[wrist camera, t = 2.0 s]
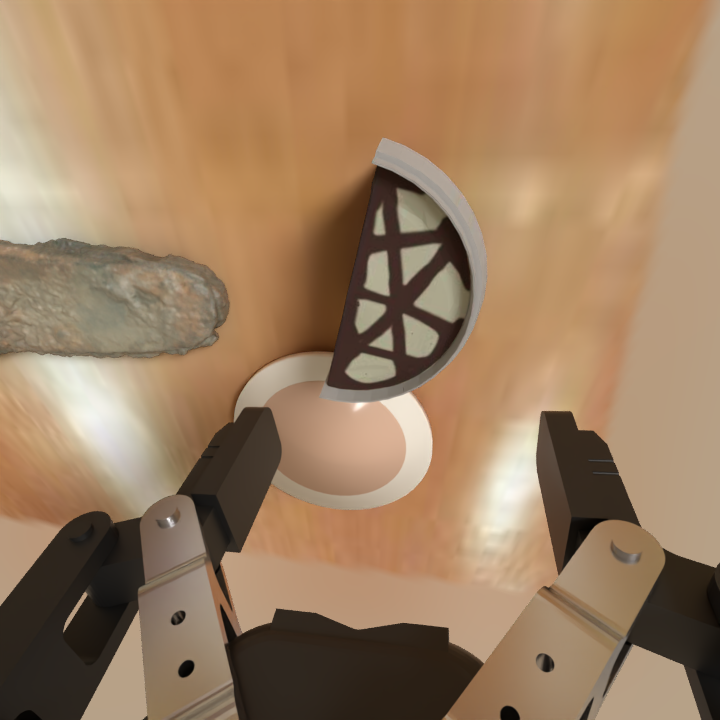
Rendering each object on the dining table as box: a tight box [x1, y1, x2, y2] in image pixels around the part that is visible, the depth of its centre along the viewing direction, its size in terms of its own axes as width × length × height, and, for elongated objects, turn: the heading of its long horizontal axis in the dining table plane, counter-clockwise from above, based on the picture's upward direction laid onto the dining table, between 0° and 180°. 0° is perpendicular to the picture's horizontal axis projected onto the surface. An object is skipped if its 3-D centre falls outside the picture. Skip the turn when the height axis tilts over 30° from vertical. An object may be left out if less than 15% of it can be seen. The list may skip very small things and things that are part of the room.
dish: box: [234, 351, 433, 510], centre depth 36 cm, size 16×16×2 cm
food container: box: [319, 138, 487, 403], centre depth 23 cm, size 12×6×10 cm, turn 167°
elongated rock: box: [0, 238, 229, 358], centre depth 34 cm, size 35×5×10 cm
